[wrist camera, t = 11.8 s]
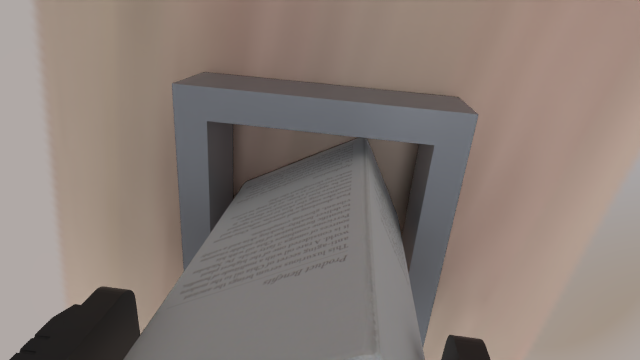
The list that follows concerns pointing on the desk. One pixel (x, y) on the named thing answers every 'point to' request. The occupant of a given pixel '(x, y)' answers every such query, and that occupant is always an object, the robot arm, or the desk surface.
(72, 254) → the desk surface
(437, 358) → the desk surface
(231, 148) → the frame
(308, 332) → the skincare box
